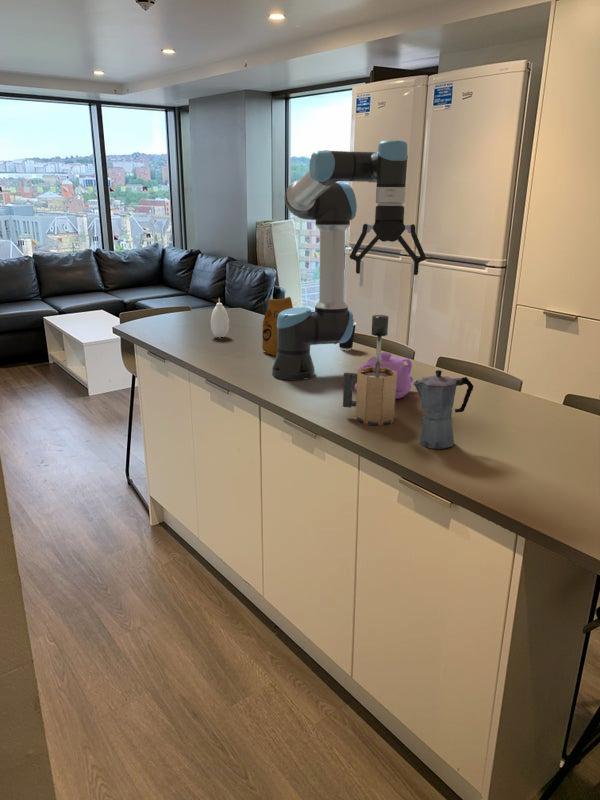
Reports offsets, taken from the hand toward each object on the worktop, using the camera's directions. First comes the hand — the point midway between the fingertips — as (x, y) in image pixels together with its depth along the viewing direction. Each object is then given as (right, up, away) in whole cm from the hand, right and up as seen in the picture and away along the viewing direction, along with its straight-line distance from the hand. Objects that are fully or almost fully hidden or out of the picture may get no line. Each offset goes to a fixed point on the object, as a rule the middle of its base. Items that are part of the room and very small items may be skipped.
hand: (386, 286), depth 165 cm
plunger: (-2, -25, +7) cm, 26 cm away
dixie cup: (-4, -10, +86) cm, 87 cm away
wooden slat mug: (-4, -36, +11) cm, 38 cm away
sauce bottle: (-59, -4, +103) cm, 119 cm away
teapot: (+5, -30, +30) cm, 43 cm away
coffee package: (-32, -12, +81) cm, 88 cm away
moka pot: (+13, -42, -5) cm, 45 cm away
